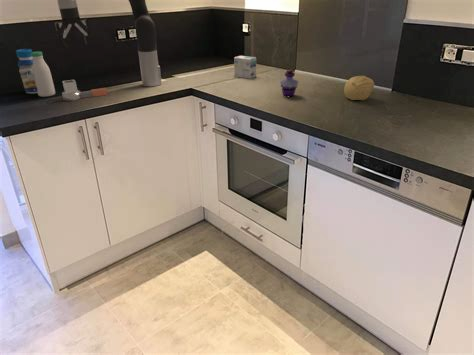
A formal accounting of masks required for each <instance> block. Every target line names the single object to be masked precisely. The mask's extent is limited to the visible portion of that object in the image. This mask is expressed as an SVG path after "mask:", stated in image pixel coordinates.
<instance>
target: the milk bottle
mask: <svg viewBox="0 0 474 355" xmlns="http://www.w3.org/2000/svg"><path fill="white" fill-rule="evenodd" d="M31 55H32V58H33V66H32V72H33V77H34V81H35V85H36V89H37V92H38V93H37V96H38V97H43V98H44V97H51V96H54V95H56V89H55V84H54V80H53V78H52V76H53V75H52V73H51V70H50V67H49V65H48V64H47V62H46V61H45V60H44V56H43V55H44V54H43V51H39V50H38V51H32V53H31Z"/></svg>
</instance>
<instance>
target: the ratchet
mask: <svg viewBox="0 0 474 355" xmlns="http://www.w3.org/2000/svg"><path fill="white" fill-rule="evenodd" d="M77 90H78V89H77ZM108 93H109V92H108V88H106V87H100V88H93V89H90V90H86V91H80V89H79V90H78V93H73V94H66V93H65V91H64V90H63V91H62V92H61V95H62V100H63V101H65V102H75V101H79V100H81V99H86V98H92V97H95V98H96V97H100V96H108V95H109V94H108Z"/></svg>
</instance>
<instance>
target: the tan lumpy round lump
mask: <svg viewBox="0 0 474 355" xmlns="http://www.w3.org/2000/svg"><path fill="white" fill-rule="evenodd" d="M374 86H375V82H374V80H373V79H371V78H370V77H367V76H365V75H357V76H352V77H351V78H349V79H348V80H347V81H346V82H345V85H344V88H343V90H344V91H343V92H344V95H345V97H346V99H348V100H351V101H353V100H363V101H365V100H367V98H369V96H370V95H371V93H372V92H373V91H374Z"/></svg>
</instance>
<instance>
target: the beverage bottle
mask: <svg viewBox="0 0 474 355" xmlns="http://www.w3.org/2000/svg"><path fill="white" fill-rule="evenodd" d="M32 52H33V50H32V49H31V48H21V49H16V50H15V54H16V57H17V58H18V62H17V66H18V67H19V69H18V72H19V75H20V78H21V80H22V84H23V88H24V92H25V93H26V94H32V95H33V94H38V92H37V89H36V85H35V81H34V77H33V72H32V66H33V58H32V55H31V53H32Z"/></svg>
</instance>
